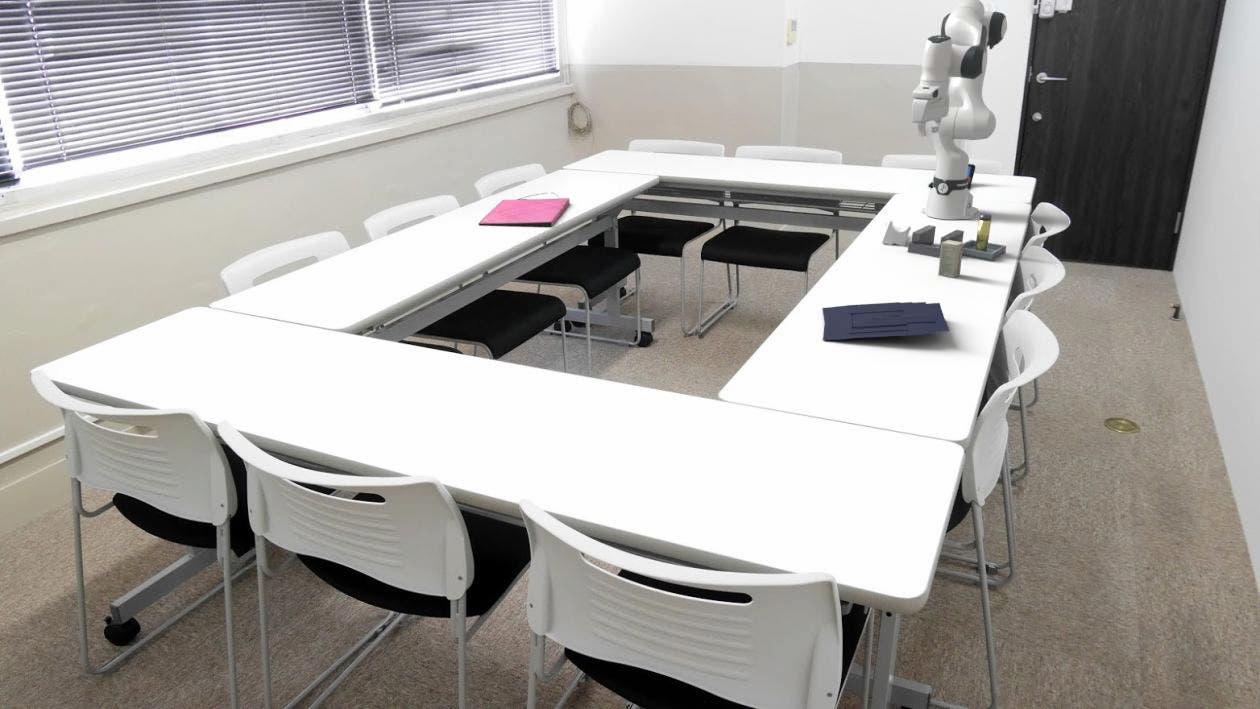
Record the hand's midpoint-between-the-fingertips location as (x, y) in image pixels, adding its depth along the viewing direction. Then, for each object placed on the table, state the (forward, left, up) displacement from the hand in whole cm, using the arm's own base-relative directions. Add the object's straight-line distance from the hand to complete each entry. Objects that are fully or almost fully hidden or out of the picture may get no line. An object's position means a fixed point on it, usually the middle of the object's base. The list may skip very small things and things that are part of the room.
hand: (928, 134), depth 296 cm
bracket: (+4, -6, -36) cm, 36 cm away
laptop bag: (+56, -131, -36) cm, 147 cm away
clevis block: (+8, +10, -35) cm, 37 cm away
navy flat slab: (+83, +29, -36) cm, 94 cm away
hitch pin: (+3, +23, -34) cm, 41 cm away
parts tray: (+3, +23, -35) cm, 42 cm away
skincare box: (+30, +24, -35) cm, 52 cm away
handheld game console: (-86, -25, -36) cm, 96 cm away
